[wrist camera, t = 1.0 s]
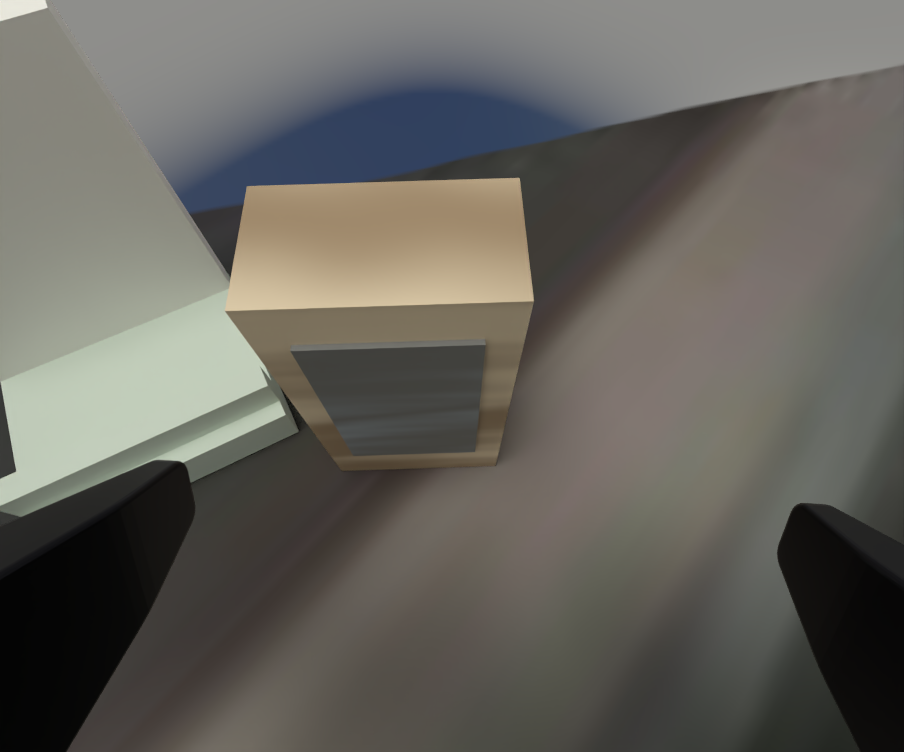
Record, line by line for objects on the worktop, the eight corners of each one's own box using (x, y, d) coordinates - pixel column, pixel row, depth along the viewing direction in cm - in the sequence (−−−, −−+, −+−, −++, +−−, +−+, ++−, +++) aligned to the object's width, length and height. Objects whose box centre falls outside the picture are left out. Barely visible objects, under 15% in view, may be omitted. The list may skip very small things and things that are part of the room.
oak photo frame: (495, 469, 22) (534, 307, 11) (341, 474, 22) (223, 317, 11) (490, 390, 24) (519, 177, 13) (346, 394, 24) (247, 186, 13)
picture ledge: (299, 431, 23) (109, 195, 11) (64, 542, 21) (-513, 416, 9) (240, 293, 26) (39, -17, 14) (30, 379, 24) (-428, 110, 12)
